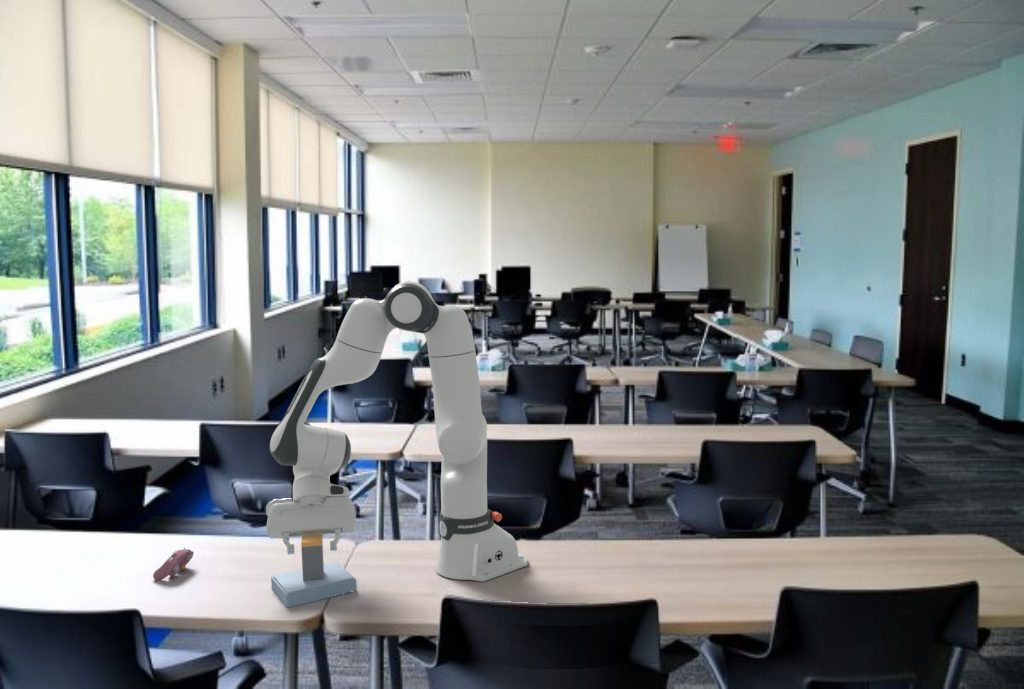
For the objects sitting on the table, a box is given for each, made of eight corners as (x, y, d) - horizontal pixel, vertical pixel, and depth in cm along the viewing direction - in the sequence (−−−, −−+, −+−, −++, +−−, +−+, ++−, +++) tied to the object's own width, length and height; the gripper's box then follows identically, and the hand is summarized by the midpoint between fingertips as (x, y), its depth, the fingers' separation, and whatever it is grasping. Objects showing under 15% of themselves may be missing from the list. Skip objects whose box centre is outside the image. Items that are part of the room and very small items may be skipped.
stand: (338, 573, 200) (338, 560, 199) (356, 591, 190) (356, 577, 189) (271, 588, 191) (271, 575, 191) (286, 607, 181) (286, 593, 181)
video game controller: (166, 588, 196) (176, 563, 195) (150, 579, 197) (160, 554, 195) (189, 572, 206) (199, 548, 205) (174, 563, 206) (184, 539, 205)
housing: (303, 573, 192) (302, 535, 191) (323, 571, 193) (322, 534, 192) (303, 581, 187) (301, 542, 186) (323, 579, 188) (321, 541, 187)
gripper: (265, 493, 193) (263, 549, 184) (354, 487, 197) (357, 541, 188) (267, 506, 197) (266, 561, 189) (355, 500, 201) (357, 553, 193)
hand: (312, 551), depth 189 cm, fingers open, 8 cm apart
